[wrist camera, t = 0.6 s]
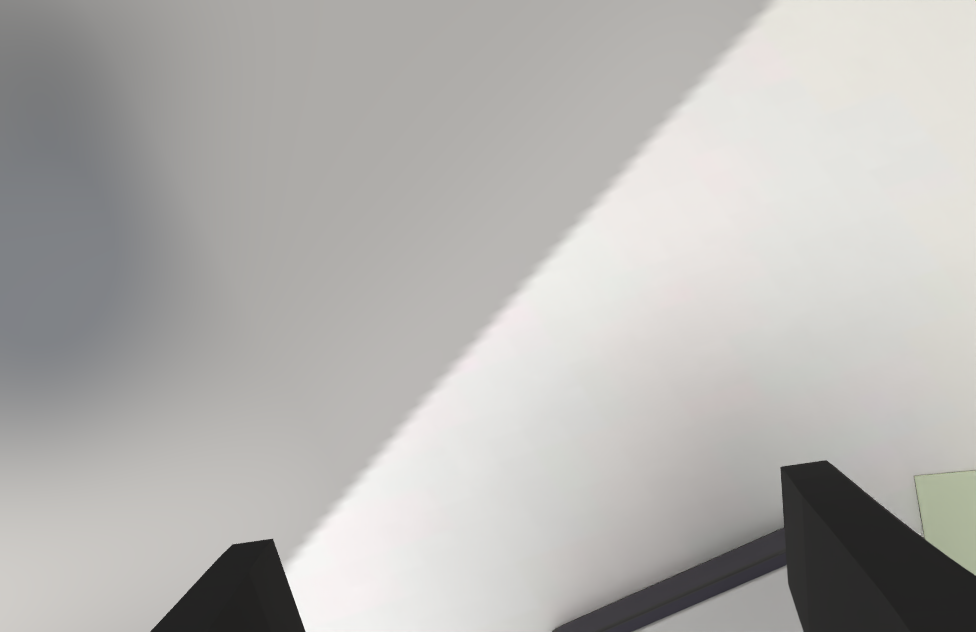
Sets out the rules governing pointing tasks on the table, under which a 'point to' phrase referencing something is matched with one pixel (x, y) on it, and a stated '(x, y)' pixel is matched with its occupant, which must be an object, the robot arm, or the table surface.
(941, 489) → the mat
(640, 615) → the button box
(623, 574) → the table surface
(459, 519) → the table surface
